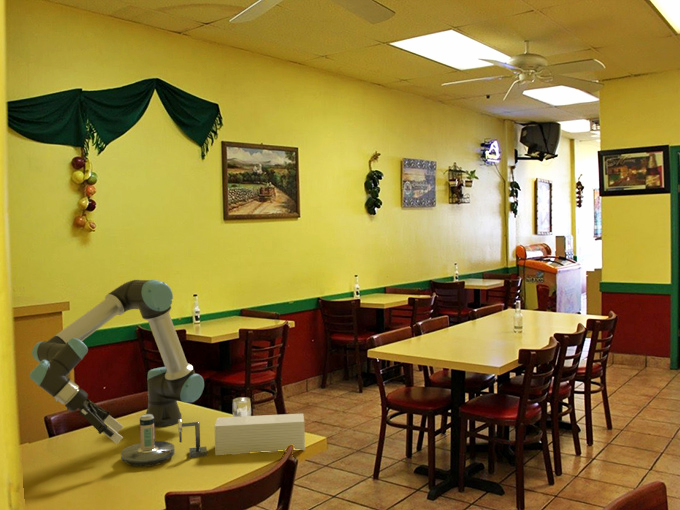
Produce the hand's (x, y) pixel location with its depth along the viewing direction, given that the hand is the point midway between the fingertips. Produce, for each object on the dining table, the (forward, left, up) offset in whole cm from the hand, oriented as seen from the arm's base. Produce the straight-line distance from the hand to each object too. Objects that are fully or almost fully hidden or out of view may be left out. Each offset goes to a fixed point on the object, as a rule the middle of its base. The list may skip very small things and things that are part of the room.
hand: (120, 434), depth 220 cm
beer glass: (+27, +37, -10) cm, 47 cm away
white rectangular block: (+39, +29, -10) cm, 50 cm away
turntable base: (+7, +6, -10) cm, 13 cm away
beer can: (+7, +6, -6) cm, 11 cm away
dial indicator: (+19, +15, -10) cm, 26 cm away
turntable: (+7, +6, -8) cm, 12 cm away
